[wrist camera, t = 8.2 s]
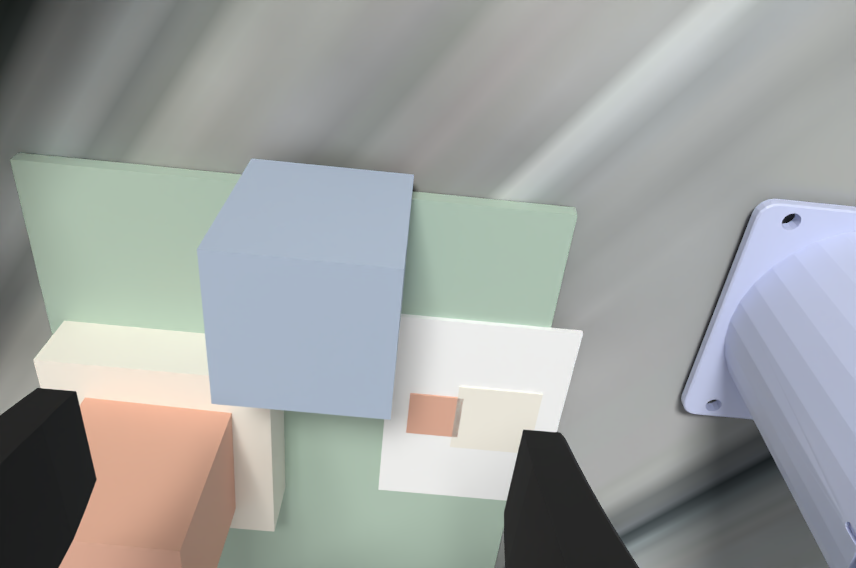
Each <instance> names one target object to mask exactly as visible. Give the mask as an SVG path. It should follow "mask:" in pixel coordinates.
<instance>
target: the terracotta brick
mask: <svg viewBox="0 0 856 568" xmlns="http://www.w3.org/2000/svg"><path fill="white" fill-rule="evenodd" d="M80 410H81V414H82V418H83V422H84V427H85V431H86V435H87V440H88V444H89V448H90V453H91V457H92V461H93V465H94V470H95V474H96V478H97V480H96V483H95V486H94V488H93V491H92V494H91V496H90V499H89V502H88V504H87V507H86V510H85V512H84V515H83V517H82V520H81V522H80V525H79V527H78V530H77V532H76V535H75V537H74V540H73V541H72V543H71V545H70V547H69V549H68V551H67V553H66V555H65V557H64V559H63V560H62V562H61V564H60V566H59V568H217V566H218V563H219V560H220V557H221V554H222V551H223V547H224V544H225V541H226V538H227V535H228V532H229V528H230V525H231V522H232V519H233V516H234V513H235V509H236V503H235V480H234V457H233V434H232V413H227V412H217V411H208V410H199V409H189V408H180V407H170V406H161V405H151V404H142V403H132V402H123V401H113V400H104V399H95V398H84V400H83V401H82V403H81V404H80Z"/></svg>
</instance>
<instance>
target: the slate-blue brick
mask: <svg viewBox="0 0 856 568" xmlns="http://www.w3.org/2000/svg"><path fill="white" fill-rule="evenodd" d="M413 180H414V175H412V174H402V173H392V172H382V171H372V170H362V169H352V168H342V167H332V166H322V165H312V164H302V163H292V162H281V161H271V160H261V159H251V160H250V162H249V164H248V165H247V167H246V169H245V170H244V172H243V174H242V175H241V177H240V178H239V180H238V182H237V183H236V185H235V187H234V188H233V190H232V192H231V193H230V195H229V197H228V198H227V200H226V202H225V203H224V205H223V207H222V208H221V210H220V212H219V213H218V215H217V217H216V218H215V220H214V222H213V223H212V225H211V227H210V228H209V230H208V232H207V233H206V235H205V236H204V238H203V240H202V241H201V243H200V245H199V246H198V248H197V256H198V266H199V277H200V287H201V298H202V308H203V319H204V329H205V340H206V350H207V361H208V371H209V382H210V392H211V403H212V404H218V405H229V406H241V407H252V408H263V409H274V410H286V411H297V412H308V413H320V414H331V415H342V416H353V417H365V418H376V419H387V420H391V410H392V400H393V390H394V380H395V370H396V360H397V350H398V340H399V330H400V321H401V311H402V300H403V289H404V278H405V267H406V257H407V246H408V235H409V224H410V213H411V202H412V191H413Z"/></svg>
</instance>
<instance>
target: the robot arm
mask: <svg viewBox="0 0 856 568" xmlns="http://www.w3.org/2000/svg"><path fill="white" fill-rule="evenodd" d="M794 213H795V217H794V218H793V220H792V221H790V222H788V223H783V224H782V220H783V219H784V218H785V217H786V216H787V215H789V214H794ZM711 400H716V401H714V402H713V403H708V402H709V401H711ZM681 401H682V404H683V406H684V408H685V410H686V411H687V412H689V413H692V414H699V415H710V416H721V417H732V418H743V419H753V420H754V422H755V424H756V426H757V428H758V430H759V432H760V434H761V435H762V437H763V439H764V441H765V443H766V445H767V447H768V449H769V451H770V453H771V455H772V457H773V459H774V461H775V463H776V465H777V467H778V468H779V470H780V472H781V474H782V476H783V478H784V480H785V482H786V484H787V486H788V488H789V490H790V492H791V494H792V496H793V498H794V500H795V502H796V503H797V505H798V507H799V509H800V511H801V513H802V515H803V517H804V519H805V521H806V523H807V525H808V527H809V529H810V531H811V533H812V535H813V537H814V538H815V540H816V542H817V544H818V546H819V548H820V550H821V552H822V554H823V556H824V558H825V560H826V562H827V564H828V566H829V568H856V207H854V206H844V205H834V204H824V203H814V202H804V201H794V200H784V199H768V200H766V201H763V202H761V203H760V204H759V205H758V206H756V208H755V209H754V211H753V212H752V215H751V217H750V220H749V223H748V225H747V228H746V230H745V233H744V236H743V238H742V241H741V243H740V246H739V248H738V251H737V254H736V256H735V259H734V261H733V264H732V267H731V269H730V272H729V274H728V277H727V280H726V282H725V285H724V287H723V290H722V292H721V295H720V298H719V300H718V303H717V305H716V308H715V311H714V313H713V316H712V318H711V321H710V324H709V326H708V329H707V331H706V334H705V336H704V339H703V342H702V344H701V347H700V349H699V352H698V355H697V357H696V360H695V362H694V365H693V368H692V370H691V373H690V375H689V378H688V380H687V383H686V386H685V388H684V391H683V393H682V396H681ZM96 480H97V478H96V474H95V470H94V465H93V461H92V457H91V453H90V448H89V444H88V440H87V435H86V431H85V427H84V422H83V418H82V414H81V410H80V405H79V401H78V397H77V392H76V391H67V390H56V389H44V388H37V389H36V390H34V391H33V392H31V393H30V394H29V395H27V396H26V397H24V398H23V399H22V400H20V401H19V402H18V403H16V404H15V405H14V406H12V407H11V408H10V409H8V410H7V411H6V412H4V413H3V414H2V415H0V568H59V566H60V564H61V562H62V560H63V559H64V557H65V555H66V553H67V551H68V549H69V547H70V545H71V543H72V541H73V540H74V537H75V535H76V532H77V530H78V527H79V525H80V522H81V520H82V517H83V515H84V512H85V510H86V507H87V504H88V502H89V499H90V496H91V494H92V491H93V488H94V486H95V483H96ZM504 545H505V568H639V567H638V565H637V564H636V562H635V561H634V559H633V558H632V556H631V555H630V553H629V551H628V550H627V548H626V546H625V545H624V543H623V542H622V540H621V538H620V537H619V535H618V533H617V532H616V530H615V529H614V527H613V525H612V524H611V522H610V521H609V519H608V517H607V515H606V514H605V512H604V510H603V509H602V507H601V505H600V503H599V502H598V500H597V498H596V496H595V494H594V493H593V491H592V489H591V487H590V485H589V484H588V482H587V480H586V478H585V476H584V474H583V472H582V471H581V469H580V467H579V465H578V463H577V461H576V459H575V457H574V455H573V453H572V451H571V449H570V447H569V445H568V443H567V441H566V439H565V438H564V436H563V435H562V434H561V433H558V432H547V431H535V430H523V432H522V437H521V441H520V445H519V450H518V454H517V458H516V463H515V467H514V471H513V475H512V480H511V484H510V488H509V493H508V497H507V501H506V505H505V510H504Z"/></svg>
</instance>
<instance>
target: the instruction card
mask: <svg viewBox="0 0 856 568" xmlns="http://www.w3.org/2000/svg"><path fill="white" fill-rule="evenodd" d="M582 336H583V332H582V331H581V330H570V329H560V328H549V327H538V326H528V325H517V324H506V323H495V322H485V321H474V320H463V319H453V318H442V317H431V316H420V315H410V314H401V321H400V330H399V340H398V350H397V360H396V370H395V380H394V390H393V400H392V410H391V420H387V419H384V428H383V440H382V452H381V464H380V476H379V487H378V490H388V491H400V492H411V493H423V494H435V495H446V496H458V497H470V498H481V499H493V500H505V501H507V497H508V493H509V488H510V484H511V480H512V475H513V471H514V467H515V463H516V458H517V454H518V450H519V445H520V441H521V437H522V432H523V430H535V431H547V432H557V429H558V425H559V421H560V417H561V414H562V410H563V406H564V403H565V399H566V395H567V391H568V388H569V384H570V380H571V377H572V373H573V369H574V365H575V362H576V358H577V354H578V350H579V347H580V343H581V339H582Z"/></svg>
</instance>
